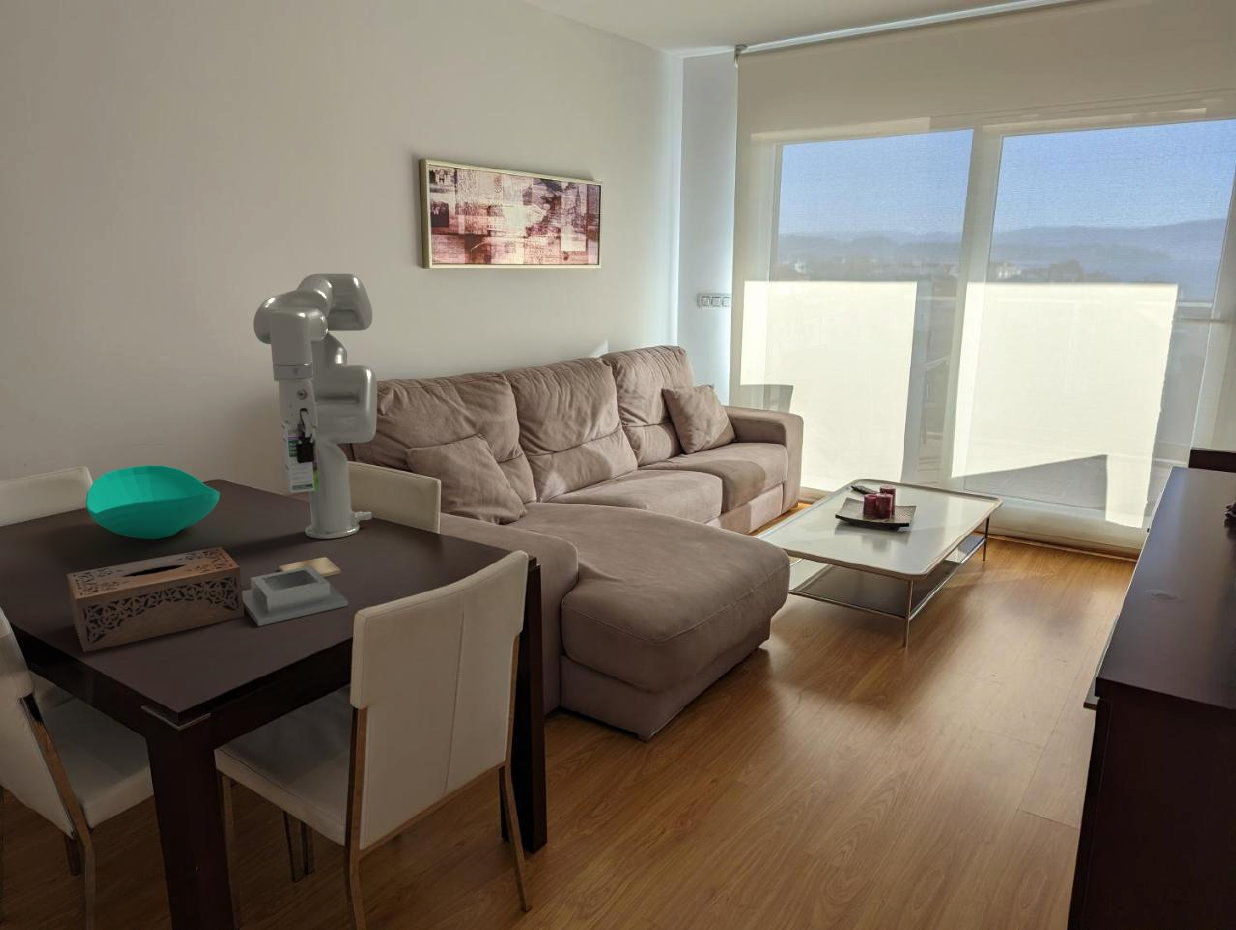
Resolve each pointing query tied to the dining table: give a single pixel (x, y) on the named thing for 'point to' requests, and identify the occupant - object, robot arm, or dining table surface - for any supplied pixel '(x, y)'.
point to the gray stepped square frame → (290, 595)
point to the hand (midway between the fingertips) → (300, 458)
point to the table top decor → (149, 501)
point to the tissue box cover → (154, 597)
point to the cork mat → (315, 566)
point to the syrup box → (298, 474)
